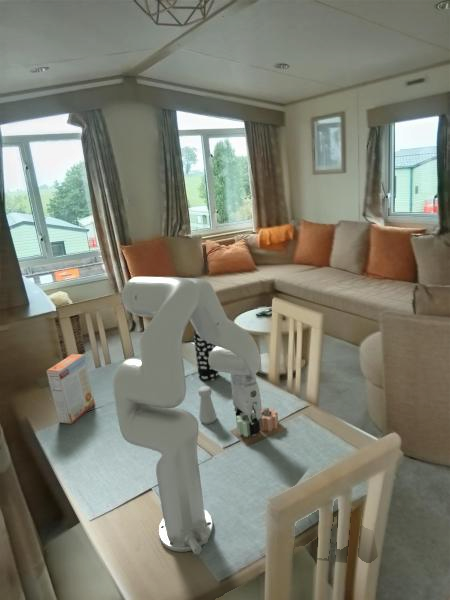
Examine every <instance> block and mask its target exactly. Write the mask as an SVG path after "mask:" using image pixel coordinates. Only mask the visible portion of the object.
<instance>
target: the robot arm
mask: <svg viewBox="0 0 450 600" xmlns="http://www.w3.org/2000/svg"><path fill="white" fill-rule="evenodd" d="M121 301H122V304H123V306H124V307H125V309H126V310H127V311H128V312H129V313H130V314H133V315H136V316H145V317H152V319H151V320H150V322H148V324H147V326H146V327H145V329H144V330H143V332H142V334H141V337H140V340H139V353H140V354H139V355H140V357H136V358H135V357H133V358H132V357H130V358H128V359H125V360H124V361H122V362H121V363H120V365H119V366H118V367H117V369H116V371H115V374H114V377H113V383H112V385H113V386H112V388H113V389H112V390H113V398H114V403H115V407H116V409H115V410H116V415H117V420H118V425H119V430H120V433H121V435H122V438H123V440H125V442H127V443H129V444H130V445H134V446H137V447H139V448H141V447H142V448H143V449H149V450H152V451H156V452H157V453H160V454H161V457H160V458H159V459H158V461H157V463H156V466H155V475H156V481H157V487H158V494H159V498H160V499H159V501H160V505H161V510H162V517H163V518H162V520H161V522H160V524H159V527H158V536H159V539H160V542H161V543H162V545H163V546H164V547H166V548H167V549H169V550H170V551H174V552H180V553H182V552H183V553H184V552H188V551H192V553H193V554H194V555H198V554H200V553H201V551H203V550H202V545H204V544H207V543H208V541H209V538H210V536H211V535H212V532H213V530H214V529H213V527H214V525H213V517H212V516H211V513H210V512H209V511H208V510H207V509H206V508H205V505H204V504H205V503H204V496H203V488H202V483H201V474H200V467H199V457H198V440H199V423H198V420H197V418H196V416H195V415H194V414H193V413H191V411H188V410H185V409H184V408H180V407H179V406H180V405H181V404H182V403H183V401H185V398H186V394H187V383H186V382H187V381H186V374H185V366H184V358H183V357H184V356H183V350H182V349H183V348H182V347H183V346H182V345H183V344H182V343H183V341H182V340H183V337H184V332H185V331H186V328H187V326H188V323H189V321H190V323H191V325H192V327H193V329H194V331H195V330H196V332H197V334H198V335H199V337H200V338H202V339H203V340H205V341H207V342H209V343H211V344H213V345H215V346H216V347H214V348H213V349H212V351H211V352H210V354H209V358H208V362H209V365H210V367H211V368H212V369H213V370H215V371H218V373H227V374H230V381H231V395H230V398H231V400H232V405H233V406H234V411H235V418H236V417H237V416H240V413H242V412H243V413H245V414H246V415H248V417H249V420H250V423H249V429H250V435H251V436H252V435H254V434H257V433H259V432H260V429H259V422H260V420H261V419H262V418H263V416H262V414H261V411H262V408H263V407H262V397H261V392H260V387H259V383H258V382H257V373H258V371H259V370H260V368H261V364H262V363H261V358H262V357H261V354H260V351H259V348H258V345H257V343H256V340H255V339H254V338H253V337H254V336H252V335H251V334H250V333H249V332H248V331H247V330H245V329H244V328H242V327H241V326H240V325H238V324H237V323H235V322H234V321H233V320H231V319H229V318H228V316H227V314H226V312H225V310H224V308H223V306H222V304H221V301H220V299H219V297H218V295H217V292H216V291H215V289H214V287H213V286H212V284H211V283H210V282H209V281H208V280H206V279H203V278H196V277H194V278H193V277H178V276H143V275H142V276H140V275H139V276H134V277H132V278H130V279H129V280H128V281H126V283H125V285H124V286H123V288H122V293H121ZM254 414H255V417H256V418H254V419H252V415H254Z"/></svg>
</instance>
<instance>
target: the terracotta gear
mask: <svg viewBox="0 0 450 600" xmlns="http://www.w3.org/2000/svg"><path fill="white" fill-rule="evenodd" d="M264 408H265V407H262V411H261V414H262V416H263V418H262V419H261V420H260V422H259V428H260V430H261V431H264V430H268V432H270V431H272V429H277V428H278V426H277V425H278V422H279V419H278V418H279V416H278V410H275V409H274V408H273V407H269V415H270V416H264V411H263V409H264Z"/></svg>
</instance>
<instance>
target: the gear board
mask: <svg viewBox="0 0 450 600" xmlns="http://www.w3.org/2000/svg"><path fill="white" fill-rule="evenodd" d="M263 408H264V409H263V411H264V416H270V415H269V409H270V407H263ZM244 420H247V421H248V420H249V417H248V415H246V416H245V417H244ZM277 426H278V428H277V429H272V431H270V432H268V430H264V431H261V430H260V432H259V433H257V434H256V435H254V436H251V435H248V437H246V436H244V435H243V434H241V435H240V434H239V433H238V430H237V427H236V428H234V429H231V430H229V432H230V433H231V434H232V435H234V436H235V438H236V439H238V440H239V441H240V442H241V443H242V444H244V446H246V447H249V446H251V445H255V444H257V443H258V442H261V441H263V440H265V439H267V438H270V437H272V436H274V435H276V434H278V433H281V432H282V431H285V430H287V427H286V426H284V425H283V424H281V422H279V421H278V425H277ZM259 429H260V428H259Z"/></svg>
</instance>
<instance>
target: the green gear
mask: <svg viewBox="0 0 450 600" xmlns="http://www.w3.org/2000/svg"><path fill="white" fill-rule="evenodd" d="M245 416H246V414H245V413H243V412H242V413H240V416H237V417H236V416H235V419H236V422H235V423H236V428H237V430H238V433H239V434H240V435H241V434H243V435H244V436H246V437H248V435H250V429H249V423H250V420H248V421H247V420H244V417H245ZM254 418H256V417H255V414H254V415H252V419H254ZM254 435H256V434H254ZM254 435H252V436H254Z"/></svg>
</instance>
